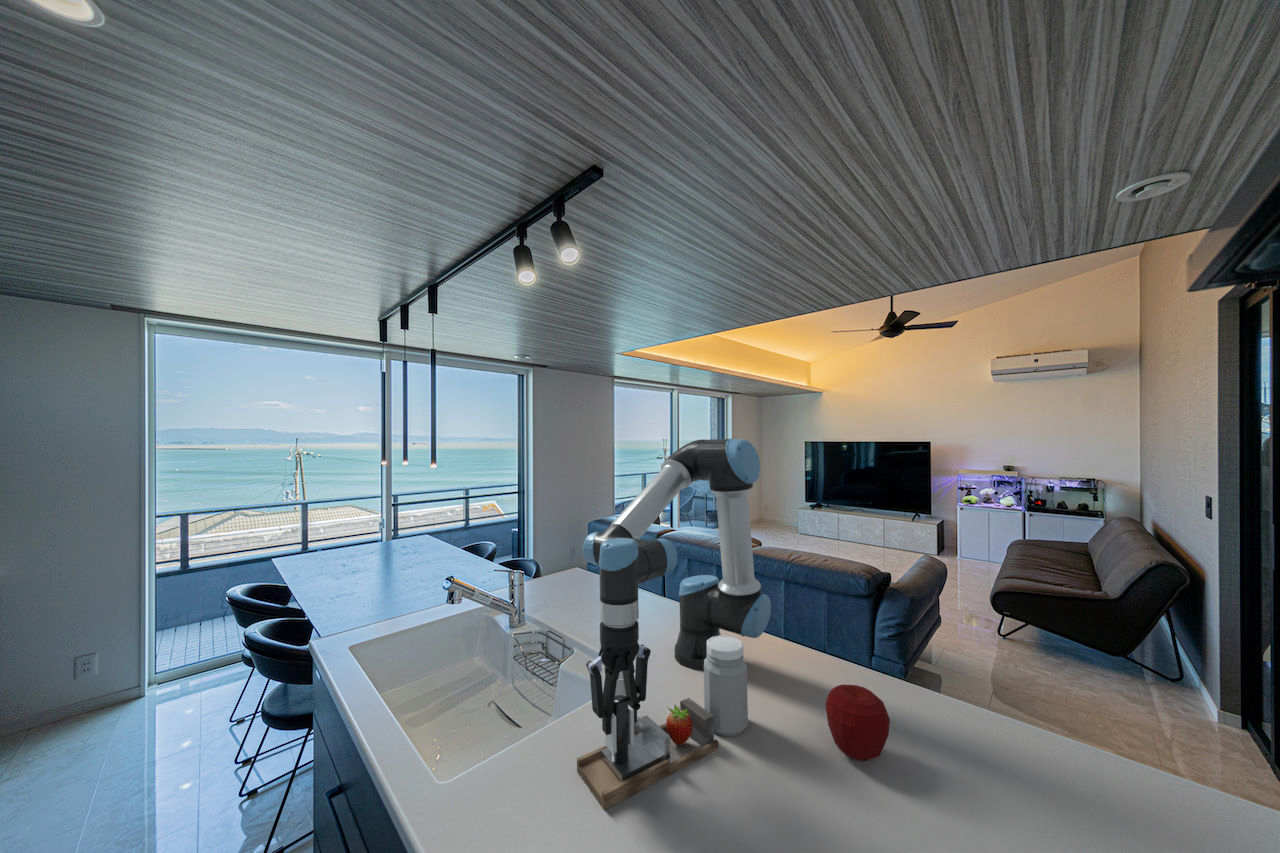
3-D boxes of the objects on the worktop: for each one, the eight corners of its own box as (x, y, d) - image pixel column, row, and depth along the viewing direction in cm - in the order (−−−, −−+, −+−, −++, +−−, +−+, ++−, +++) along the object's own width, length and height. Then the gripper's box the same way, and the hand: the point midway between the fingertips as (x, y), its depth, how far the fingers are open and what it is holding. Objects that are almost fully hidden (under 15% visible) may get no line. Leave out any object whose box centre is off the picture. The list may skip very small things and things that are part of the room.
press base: (685, 721, 100) (684, 694, 100) (718, 749, 91) (718, 719, 91) (576, 771, 85) (576, 739, 85) (604, 810, 76) (604, 774, 76)
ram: (647, 735, 92) (646, 676, 93) (670, 758, 86) (669, 694, 86) (601, 756, 86) (600, 693, 87) (622, 782, 80) (621, 713, 80)
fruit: (688, 735, 95) (687, 697, 95) (695, 752, 90) (694, 712, 90) (664, 738, 94) (663, 700, 94) (670, 755, 89) (669, 715, 89)
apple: (864, 785, 81) (862, 711, 81) (813, 746, 91) (811, 681, 92) (904, 762, 86) (901, 693, 87) (851, 729, 97) (849, 667, 97)
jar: (752, 717, 101) (750, 637, 102) (743, 743, 92) (741, 656, 93) (710, 707, 105) (709, 630, 106) (698, 731, 96) (697, 648, 97)
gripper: (643, 606, 93) (644, 719, 92) (572, 624, 84) (572, 750, 83) (664, 617, 87) (665, 739, 86) (590, 638, 78) (591, 775, 77)
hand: (620, 744), depth 84 cm, fingers closed on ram, 3 cm apart
